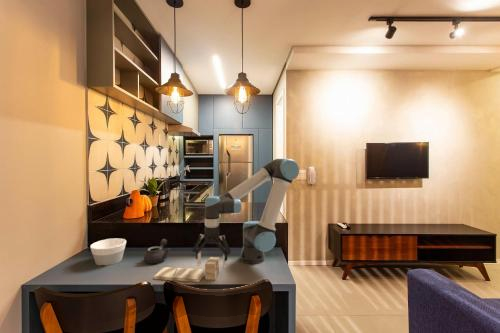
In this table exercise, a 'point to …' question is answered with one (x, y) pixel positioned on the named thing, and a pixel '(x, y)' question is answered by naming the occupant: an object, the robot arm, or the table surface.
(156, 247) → the teapot
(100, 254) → the bowl
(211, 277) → the sanding block
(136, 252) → the table surface
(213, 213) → the robot arm
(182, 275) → the board
